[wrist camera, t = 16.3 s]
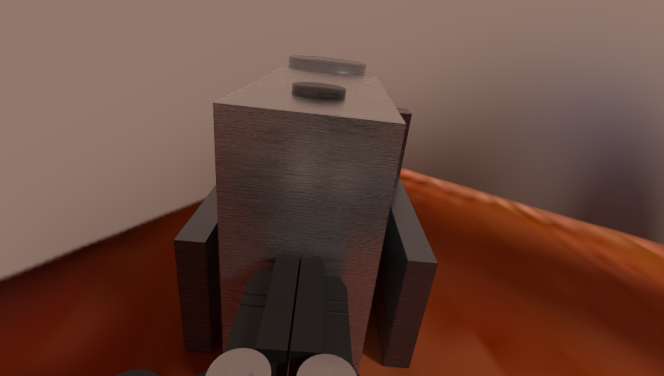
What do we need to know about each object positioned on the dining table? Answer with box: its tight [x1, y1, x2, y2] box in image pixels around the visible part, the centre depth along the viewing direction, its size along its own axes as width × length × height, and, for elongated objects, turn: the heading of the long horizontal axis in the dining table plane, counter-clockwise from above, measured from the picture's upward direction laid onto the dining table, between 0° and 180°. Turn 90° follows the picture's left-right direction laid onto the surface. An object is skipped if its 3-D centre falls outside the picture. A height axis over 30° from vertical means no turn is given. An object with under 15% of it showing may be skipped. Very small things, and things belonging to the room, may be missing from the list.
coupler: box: [174, 56, 438, 368], centre depth 19 cm, size 10×12×12 cm
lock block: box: [213, 67, 406, 376], centre depth 16 cm, size 5×10×12 cm, turn 178°
